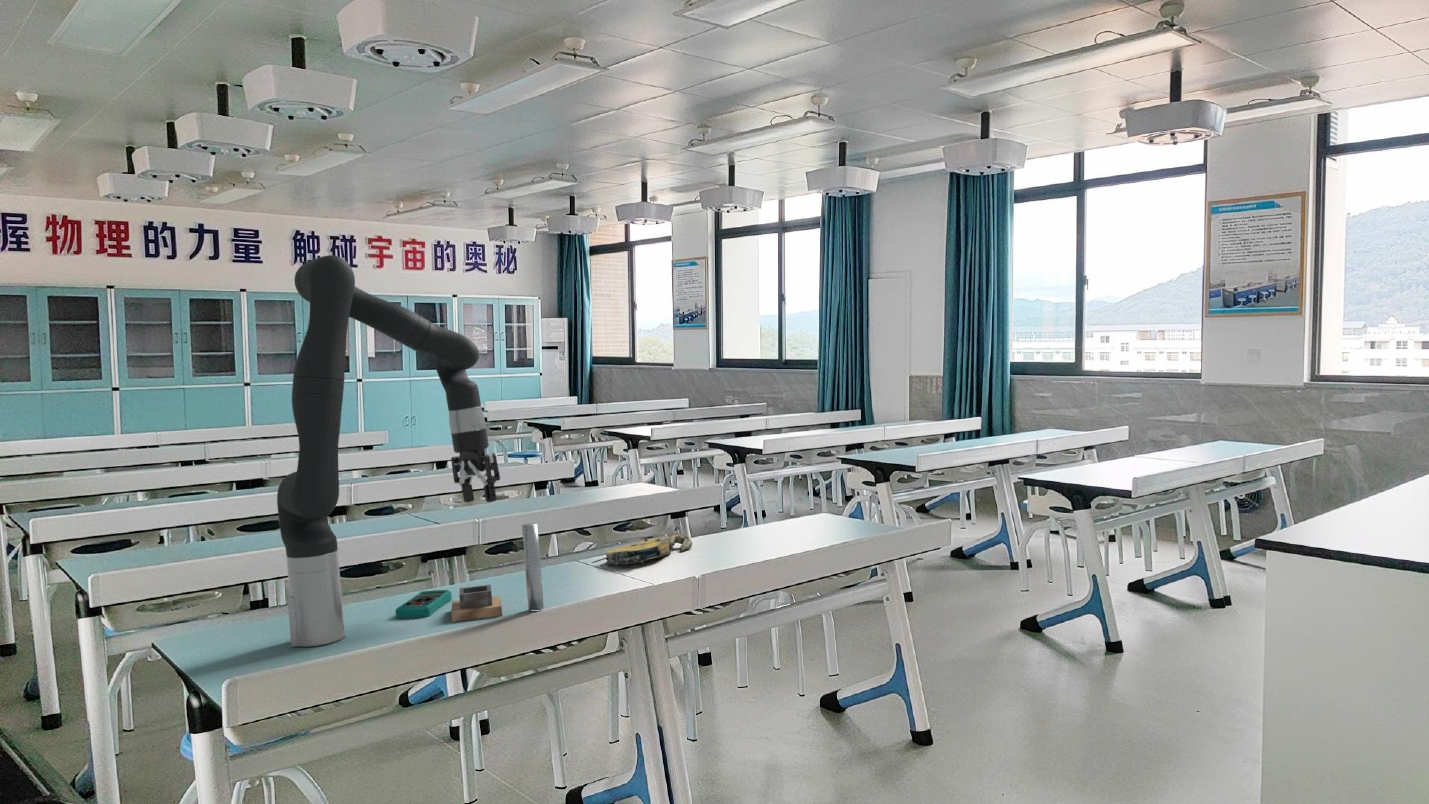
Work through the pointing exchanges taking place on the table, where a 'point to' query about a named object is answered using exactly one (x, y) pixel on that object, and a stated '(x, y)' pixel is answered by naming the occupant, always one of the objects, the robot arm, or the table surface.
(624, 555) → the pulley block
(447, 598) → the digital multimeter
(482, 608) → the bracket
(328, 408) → the robot arm
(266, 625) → the table surface
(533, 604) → the rod
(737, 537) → the table surface
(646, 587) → the table surface
